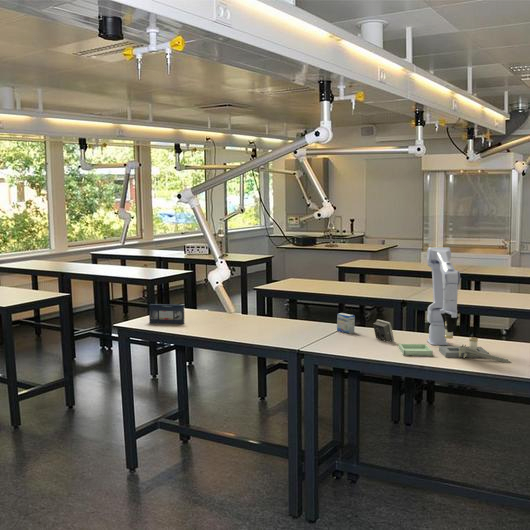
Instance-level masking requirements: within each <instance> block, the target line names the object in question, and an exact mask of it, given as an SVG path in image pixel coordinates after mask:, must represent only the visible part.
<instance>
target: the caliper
mask: <svg viewBox="0 0 530 530" xmlns="http://www.w3.org/2000/svg"><path fill="white" fill-rule="evenodd" d="M459 346H460V345H459ZM463 347H464V348H463ZM465 347H467V345H466V344H465V345H464V344H462V345H461V346H460V349H459V357H458V358H459V359H460V356H461V353H462V351H463V352H465V353H464V356H463V358H465V357H466V356H467V354H470V355H471V356H475V357H476V355H478V356H482V357H486V358H485V359H490V360H494V361H498V362H502V363H507V364H508V363H512V361H511V360H509V359H508V358H506V357H505V358H504V357H500V356H497V355H492V354H490V353H489V354H486V353H482V352H478V350H474V349H471V348H465ZM463 358H462V359H463Z"/></svg>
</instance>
